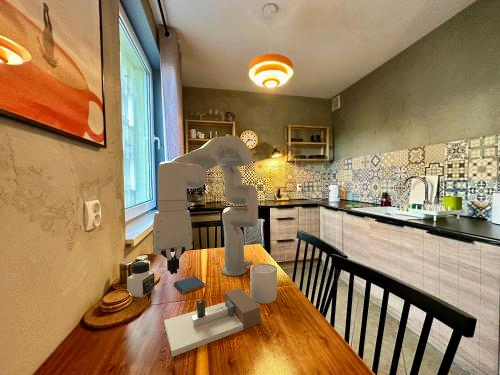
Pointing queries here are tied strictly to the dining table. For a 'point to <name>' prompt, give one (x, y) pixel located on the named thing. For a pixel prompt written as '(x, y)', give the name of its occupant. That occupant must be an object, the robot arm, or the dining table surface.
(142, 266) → the medicine bottle
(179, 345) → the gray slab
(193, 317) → the bolt
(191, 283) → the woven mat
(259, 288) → the mug
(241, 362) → the dining table surface
